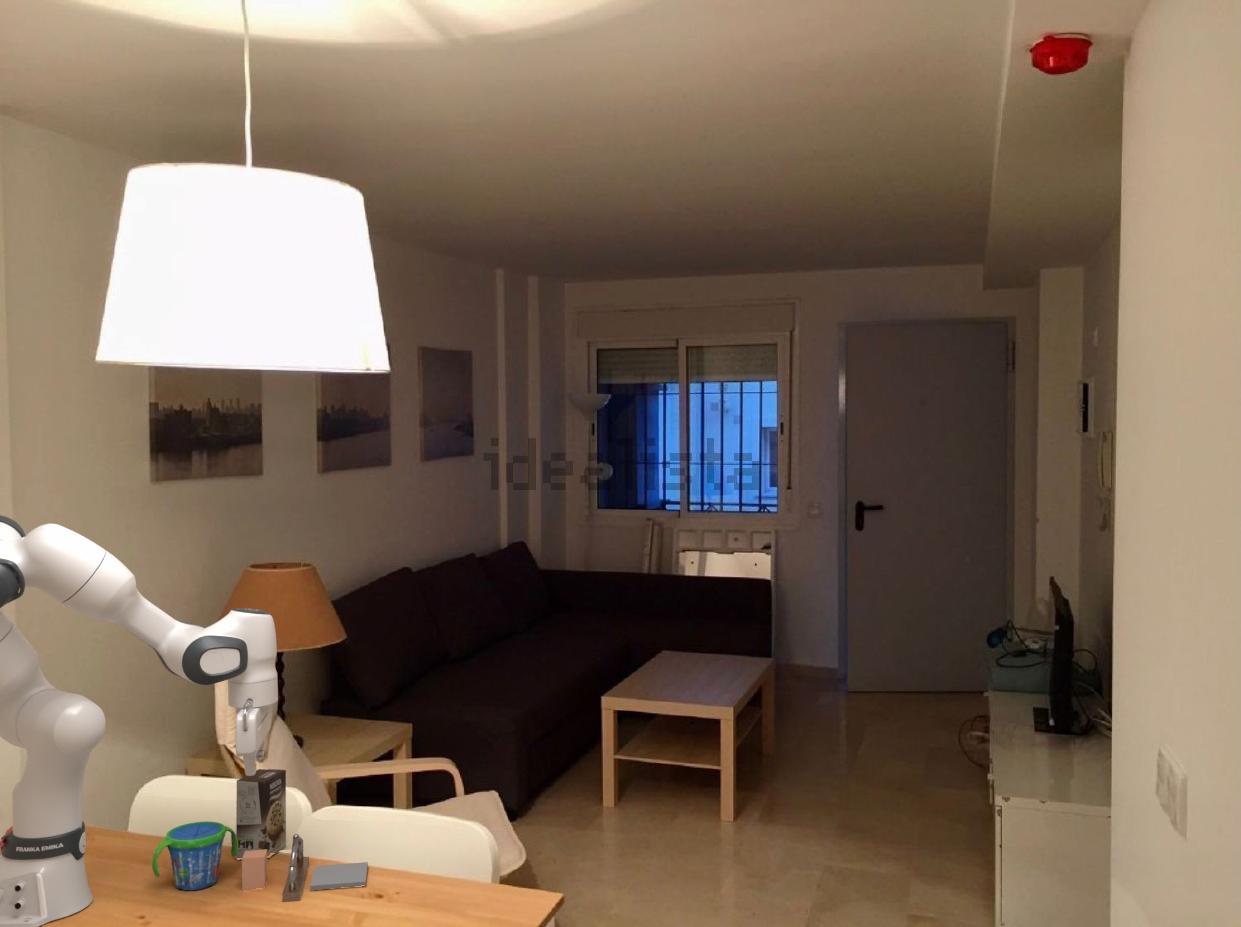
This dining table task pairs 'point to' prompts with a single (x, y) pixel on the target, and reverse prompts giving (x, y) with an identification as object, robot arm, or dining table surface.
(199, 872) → the snack cup
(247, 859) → the block
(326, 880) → the mat
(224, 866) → the dining table surface
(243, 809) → the coffee box
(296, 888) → the metal door handle
